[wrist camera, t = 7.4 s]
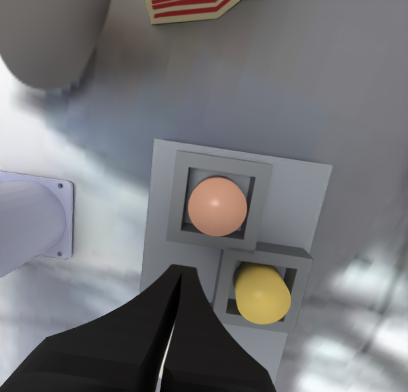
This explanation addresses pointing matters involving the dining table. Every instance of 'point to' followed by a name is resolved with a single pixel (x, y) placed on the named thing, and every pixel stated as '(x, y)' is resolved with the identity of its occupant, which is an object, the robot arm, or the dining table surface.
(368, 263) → the dining table surface
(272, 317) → the button mustard
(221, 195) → the button terracotta
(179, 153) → the panel
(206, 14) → the milk carton
